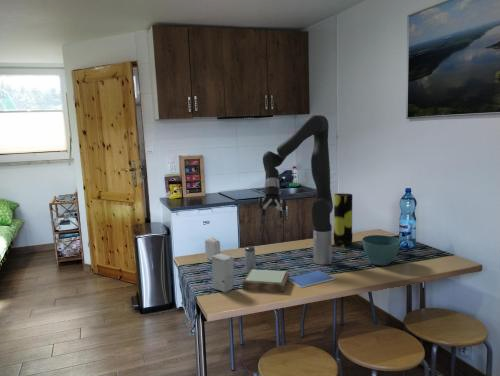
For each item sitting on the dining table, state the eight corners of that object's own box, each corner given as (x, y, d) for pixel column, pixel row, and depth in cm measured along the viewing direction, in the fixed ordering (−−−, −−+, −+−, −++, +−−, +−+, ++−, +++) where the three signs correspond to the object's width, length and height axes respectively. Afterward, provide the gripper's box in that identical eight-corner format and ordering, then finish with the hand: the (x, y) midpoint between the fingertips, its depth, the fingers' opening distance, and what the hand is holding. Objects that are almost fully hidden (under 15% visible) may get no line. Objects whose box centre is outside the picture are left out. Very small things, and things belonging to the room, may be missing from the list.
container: (355, 244, 242) (356, 194, 237) (346, 248, 234) (347, 196, 229) (339, 241, 249) (339, 192, 245) (330, 245, 241) (330, 195, 237)
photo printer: (204, 258, 223) (203, 236, 221) (211, 256, 226) (210, 235, 224) (215, 262, 215) (214, 240, 214) (221, 261, 218) (221, 238, 216)
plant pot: (405, 262, 209) (406, 238, 207) (389, 271, 196) (390, 247, 194) (372, 255, 221) (372, 233, 219) (355, 264, 208) (355, 240, 206)
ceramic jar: (256, 269, 204) (255, 246, 202) (254, 273, 199) (253, 249, 197) (246, 269, 205) (246, 246, 203) (244, 272, 200) (243, 249, 198)
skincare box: (211, 288, 182) (210, 256, 179) (221, 284, 186) (219, 252, 184) (225, 292, 176) (224, 259, 174) (234, 288, 181) (233, 256, 179)
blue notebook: (300, 289, 179) (300, 286, 179) (285, 280, 190) (285, 277, 190) (335, 280, 188) (335, 278, 188) (319, 272, 199) (319, 270, 199)
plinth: (288, 278, 190) (288, 270, 190) (283, 292, 175) (283, 283, 174) (251, 276, 195) (250, 268, 194) (242, 289, 179) (242, 280, 179)
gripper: (261, 184, 208) (260, 214, 203) (287, 187, 212) (287, 217, 206) (257, 188, 215) (256, 218, 209) (282, 191, 219) (282, 221, 213)
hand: (272, 217), depth 208 cm, fingers open, 8 cm apart
